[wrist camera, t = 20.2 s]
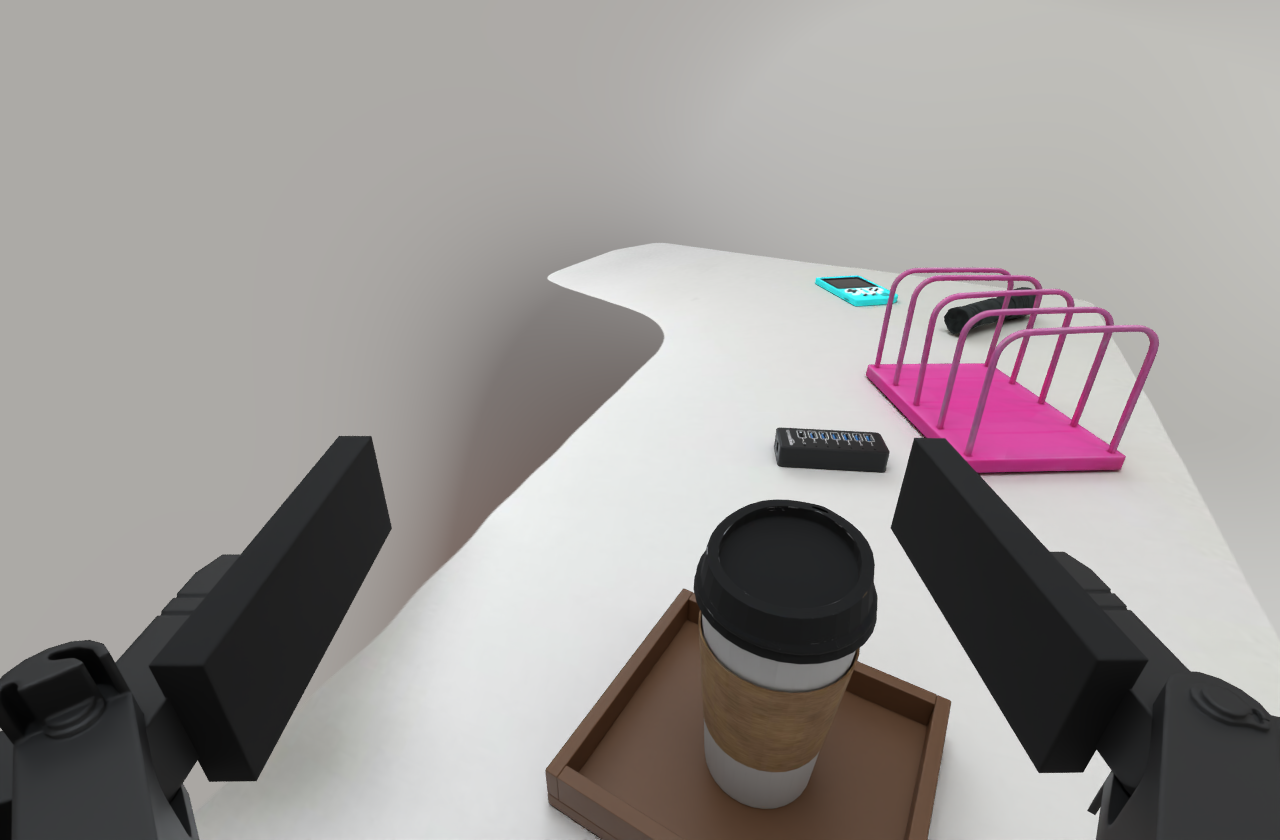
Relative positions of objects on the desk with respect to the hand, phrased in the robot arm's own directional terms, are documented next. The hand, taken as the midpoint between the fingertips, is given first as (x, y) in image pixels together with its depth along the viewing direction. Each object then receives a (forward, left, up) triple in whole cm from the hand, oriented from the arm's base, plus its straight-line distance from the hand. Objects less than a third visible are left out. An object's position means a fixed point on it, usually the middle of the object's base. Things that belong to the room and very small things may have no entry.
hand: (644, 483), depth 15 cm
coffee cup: (+1, +11, -25) cm, 27 cm away
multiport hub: (-5, +47, -26) cm, 54 cm away
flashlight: (+6, +105, -26) cm, 109 cm away
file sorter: (+8, +66, -26) cm, 71 cm away
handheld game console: (-18, +112, -26) cm, 116 cm away
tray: (+1, +11, -26) cm, 28 cm away
